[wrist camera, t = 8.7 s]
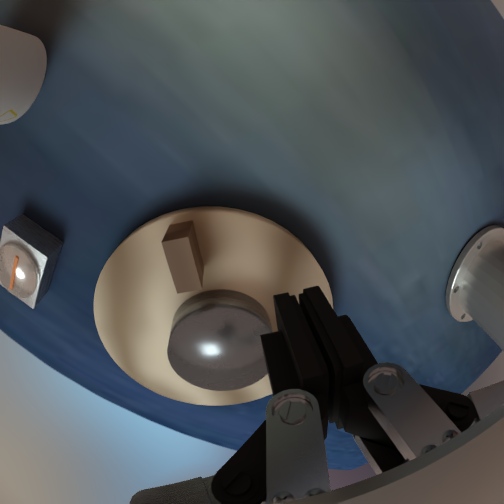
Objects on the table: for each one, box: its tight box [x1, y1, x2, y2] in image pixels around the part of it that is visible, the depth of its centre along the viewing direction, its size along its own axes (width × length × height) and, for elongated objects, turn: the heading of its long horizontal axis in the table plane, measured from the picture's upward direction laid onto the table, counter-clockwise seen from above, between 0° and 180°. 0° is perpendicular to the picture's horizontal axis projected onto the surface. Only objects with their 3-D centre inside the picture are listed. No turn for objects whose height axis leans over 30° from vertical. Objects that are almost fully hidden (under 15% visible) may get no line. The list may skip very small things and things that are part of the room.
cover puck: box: [167, 289, 273, 391], centre depth 22 cm, size 8×8×3 cm
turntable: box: [94, 206, 333, 405], centre depth 22 cm, size 20×20×4 cm
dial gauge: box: [0, 214, 64, 309], centre depth 19 cm, size 6×5×4 cm
